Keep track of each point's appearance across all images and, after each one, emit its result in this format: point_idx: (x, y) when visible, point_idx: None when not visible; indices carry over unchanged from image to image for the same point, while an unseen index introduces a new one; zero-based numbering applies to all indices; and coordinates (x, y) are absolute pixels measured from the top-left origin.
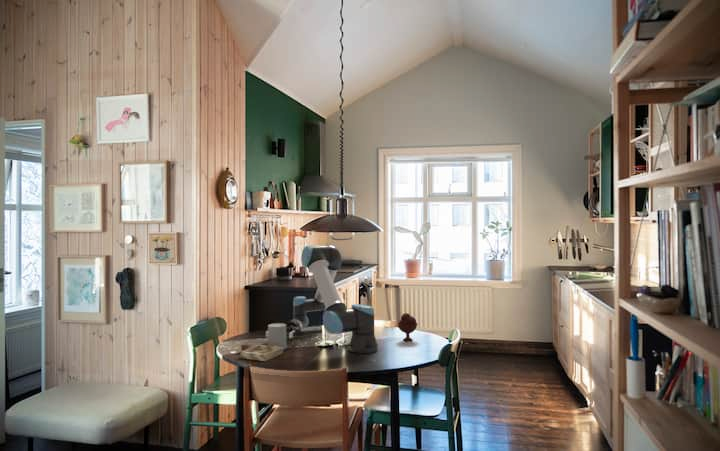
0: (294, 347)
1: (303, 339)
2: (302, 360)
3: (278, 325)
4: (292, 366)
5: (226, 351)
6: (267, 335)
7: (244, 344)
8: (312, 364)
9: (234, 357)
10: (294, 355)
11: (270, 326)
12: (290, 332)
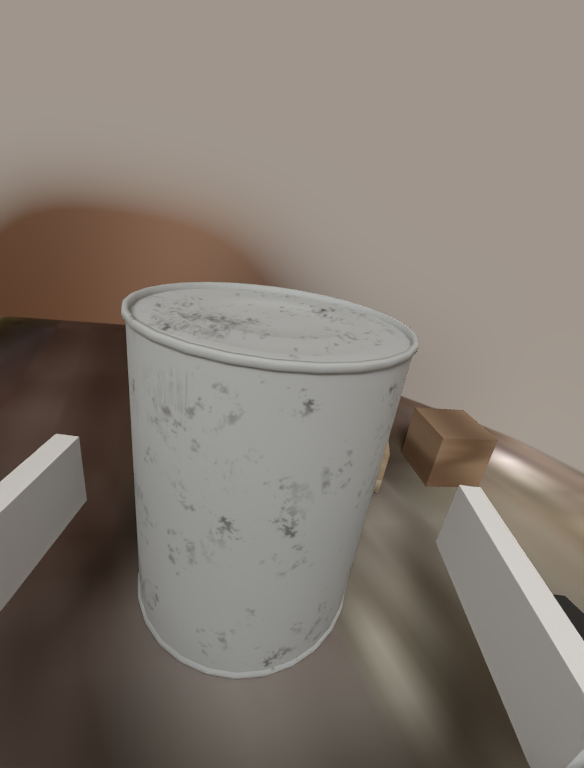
0: (19, 609)
1: None
2: (40, 365)
3: (253, 317)
4: (104, 335)
5: (558, 470)
6: (446, 538)
7: (458, 418)
8: (3, 338)
9: (407, 402)
10: (73, 413)
11: (333, 305)
12: (43, 464)
